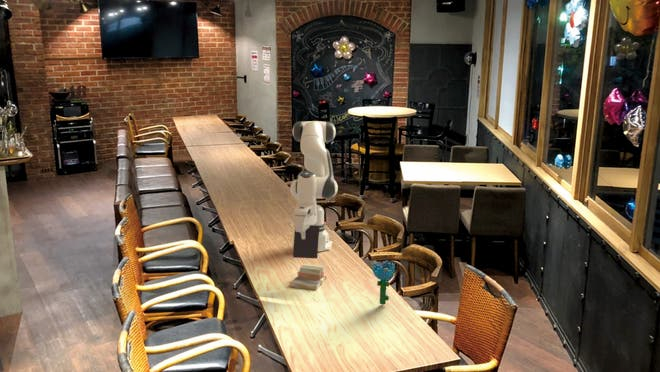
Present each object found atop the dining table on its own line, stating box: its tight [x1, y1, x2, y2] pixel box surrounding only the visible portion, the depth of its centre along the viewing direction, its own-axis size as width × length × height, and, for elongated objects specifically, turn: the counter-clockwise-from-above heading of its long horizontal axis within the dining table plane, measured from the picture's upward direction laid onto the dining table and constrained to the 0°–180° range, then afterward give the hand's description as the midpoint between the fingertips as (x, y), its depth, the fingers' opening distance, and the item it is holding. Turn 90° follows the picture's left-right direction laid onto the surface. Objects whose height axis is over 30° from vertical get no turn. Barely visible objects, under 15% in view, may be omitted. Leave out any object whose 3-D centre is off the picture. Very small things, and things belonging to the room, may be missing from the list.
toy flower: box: [372, 260, 396, 306], centre depth 255 cm, size 9×9×18 cm
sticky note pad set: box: [289, 263, 328, 291], centre depth 279 cm, size 15×13×7 cm
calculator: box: [292, 225, 319, 259], centre depth 272 cm, size 11×4×15 cm, turn 97°
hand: (306, 237), depth 272 cm, fingers closed on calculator, 5 cm apart
